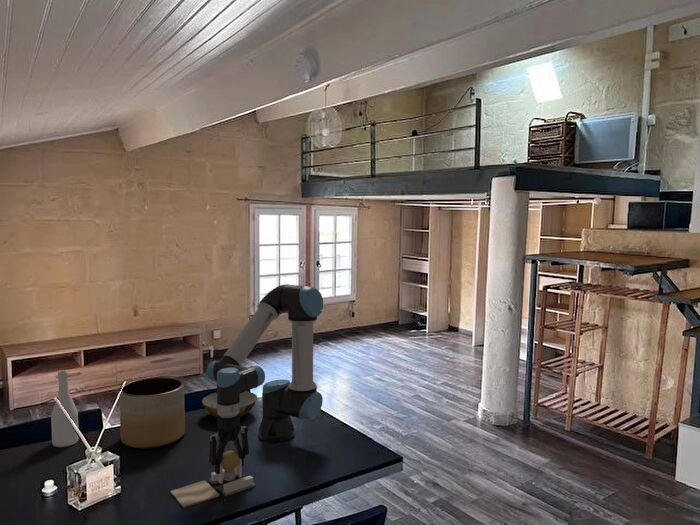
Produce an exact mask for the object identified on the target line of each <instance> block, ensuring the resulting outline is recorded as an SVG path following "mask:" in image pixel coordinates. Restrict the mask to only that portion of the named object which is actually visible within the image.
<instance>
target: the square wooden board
mask: <svg viewBox="0 0 700 525" xmlns="http://www.w3.org/2000/svg"><path fill="white" fill-rule="evenodd" d="M169 492H170V494H171V496H173V498H174V499H175V500H176V501H177V502H178V503H179V505H180V506H181V507H182V508H183V509H187V508H189V507H192V506H194V505H198V504H201V503H203V502H206V501H209V500H211V499H212V500H213V499H216V498H218V497H220V494H219V492H217V491H216V490H215V488H213V487H212V486H211V484H209V483H208V481H206V480H205V479H204V480H201V481H197V482H194V483H191V484H188V485H184V486H182V487H179V488H175V489H172V490H170V491H169Z"/></svg>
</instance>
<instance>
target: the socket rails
mask: <svg viewBox="0 0 700 525" xmlns="http://www.w3.org/2000/svg"><path fill="white" fill-rule="evenodd" d="M224 471H225V470H224V469H223V482H224V481H226V480H225V479H224ZM210 473H211V474H210V477H211V478H209V482H210V483H211V484H212V485H214V484H218V483H219V482H218V481H217V474H216V473H215V471H213V472H210ZM236 477H238V476H237V475H236V468H235V478H236ZM254 487H256V484H255V483H254V477H253V475H248V476H245V477H240V478H238V479H234V480H232V481H228V482H227V483H223V490H221V493H222V495H224V496H225V497H228V496H230V495H234V494H236V493H240V492H242V491H245V490H248V489H252V488H254Z"/></svg>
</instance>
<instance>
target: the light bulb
mask: <svg viewBox="0 0 700 525" xmlns="http://www.w3.org/2000/svg"><path fill="white" fill-rule="evenodd" d="M238 462H239V456H238V453H237V451H234V450H226V451H224V453H223V456H222V460H221V464H222V465H223V469H224V470H225V471H224V479H225V480H224V481H226V482H232V481H235V480H236V477H235V468H236V467H237V465H238Z"/></svg>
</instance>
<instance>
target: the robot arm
mask: <svg viewBox="0 0 700 525" xmlns="http://www.w3.org/2000/svg"><path fill="white" fill-rule="evenodd" d="M323 308H324V299H323V295H322V293H321V292H320V291H319V289H318V288H316V287H313V286H308V285H298V284H287V283H286V284H281V285H277V286H276V287H274V288H273V289H271V290H270V291H269V292H268V293H267V294H265V295H264V296H263V297H262V298H261V299H260V301H259V302H258V304H257V309H256V311H255V312H254V313H253V315H252V316H251V318H249V320H248V322H247V323H246V324H245V325H244V327H243V329H242V330H241V331H240V332H239V334H237V337H236V338H235V339H234V340H233V342H232V343H231V345H230V346H229V348H228V349H227V350H226V352H224V354H222V355H223V356H222V357H221V358H220V359H219V360H213V361H211V362H210V363H209V364H208V366H207V368H206V377H207V378H208V379H209V380H210V381H213V382H215V383H216V392H217V414H218V416H217V417H216V418H217V430H216V433H214V434H209V436H208V438H209V442H210V444H209V456H208V457H209V460H208V463H209V464H210V465H212V466H214V472H215V473H216V474H217V481H218V483H219V484H221V485H222V484H224V481H223V465H222V464H221V460H222V456H223V453H224V452H225V449H226V446H227V444H228V443H229V442H231V441H232V443H233V445H234V448H235V450H236V451H235V452H236V453H237V455H238V457H239V462H238V465H237V467H236V475H237V477H238V478H243V477H242V476H243V475H242V474H243V473H242V472H243V471H242V470H243V469H242V468H243V467H244V460H245V459H246V456H248V455H249V454H250V449H249V440H248V433H249V427H247V426H245V425H242V426H241V417H240V414H239V413H240V393H243V392H245V391H248V392H249V391H250V390H252V389H253V390H254V389H257V388H259V387H260V386H262V391H261V392H262V393H261V399H262V400H261V401H262V402H261V403H262V406H261V407H262V418H261V422H260V425H259V428H258V438H259V440H261V441H264V442H268V443H280V442H286V441H288V440H291V439H292V438H294V436H295V426H294V423H293V421H292V418H297V419H299V420H305V421H312V420H313V419H315V418H316V417H317V416H318V415H319V413H320V412H321V410H322V407H323V401H324V400H323V395H322V393H320V392H319V391H318V388H317V387H318V385H317V383H316V382H315V381H314V323H315V322H316V321H317V320H318V317H319V316H320V315H321V313H322V310H323ZM282 314H287V318H288V319H287V320H288V321H289V322H290V323H291V381H290V380H289V379H285V378H283V379H274V380H270V381H268V382H266V383H265V380H266V372H265V370H264V369H263V367H261V366H259V365H252V366H251V365H250V366H248V367H247V366H242V364H243V363H244V362H245V361H246V359H247V358H248V356H249V355H250V353H251V352H252V350H253V349H254V347H255V346H256V345H257V343H258V342H259V340H260V339H261V338H262V336H263V335H264V333H265V332H266V330H267V329H268V327H269V326H270V325H271V323H272V322H273V321H274V320H277V319H278V318H279V317H280V315H282ZM291 417H292V418H291ZM239 434H240V438H241V443H240V439H239V436H238V435H239ZM218 437H219V440H218ZM217 441H218V444H217ZM217 445H218V446H217Z"/></svg>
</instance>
